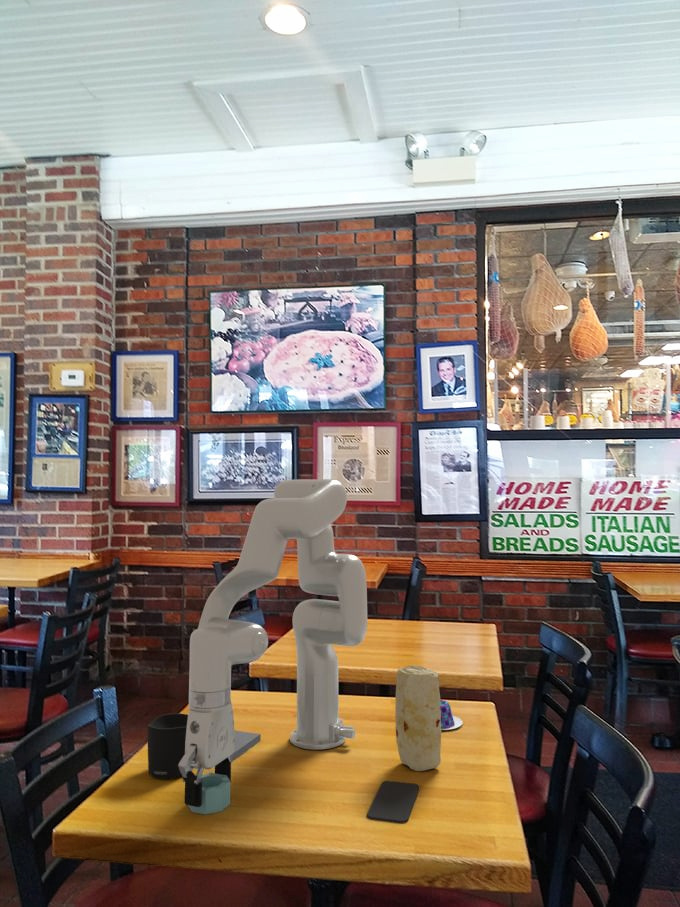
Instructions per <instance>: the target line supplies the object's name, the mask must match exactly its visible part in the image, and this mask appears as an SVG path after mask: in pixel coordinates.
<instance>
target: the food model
mask: <svg viewBox="0 0 680 907" xmlns="http://www.w3.org/2000/svg"><path fill="white" fill-rule="evenodd" d="M396 672H397V673H396V684H395V686H396V687H395V706H394V707H395V716H394V718H395V737H396V738H395V739H396V740H395V741H396V747H397V752H398V755H399V759H400V762H401V764H404V765H406V766H408V767H409V768H410V770H414V771H415V772H423V771H427V770H431V769H432V770H433V769H436V768H438V767H439V766H440V765H441V762H442V760H441V757H442V756H441V746H442V730H441V702H440V700H441V694H440V679H439V678H440V675H439V674H438V672H437V671H435V670H434V669H430V668H426V667H424V666H419V665H407V666H404V667H400V668H399V669H397V671H396Z"/></svg>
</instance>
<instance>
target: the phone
mask: <svg viewBox="0 0 680 907" xmlns="http://www.w3.org/2000/svg"><path fill="white" fill-rule="evenodd" d="M419 792H420V785H419V784H417V783H415V782H412V783H411V782H405V781H396V780H384V781H382V782H381V784H380V785H379V788H378V790H377V792H376V794H375V796H374V798H373V800H372V802H371V804H370V806H369V808H368V810H367V812H366V818H367V817H368V818H367V819H369V820H375V821H380V822H388V823H395V824H396V823H397V824H405V823H407V822H409V820H410V817H411V813H412V812H413V809H414V806H415V803H416V800H417V798H418V795H419Z"/></svg>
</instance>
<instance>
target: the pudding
mask: <svg viewBox="0 0 680 907" xmlns="http://www.w3.org/2000/svg"><path fill="white" fill-rule="evenodd" d="M440 702H441V731H448V730H453V729H457V728H460V727H461V726H462V725H463V720H462V719H461V718H460V717H458V716H455V715H453V713H452V708H451V705H450V703H449V702H448V701H447V700H444V699H440Z"/></svg>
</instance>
